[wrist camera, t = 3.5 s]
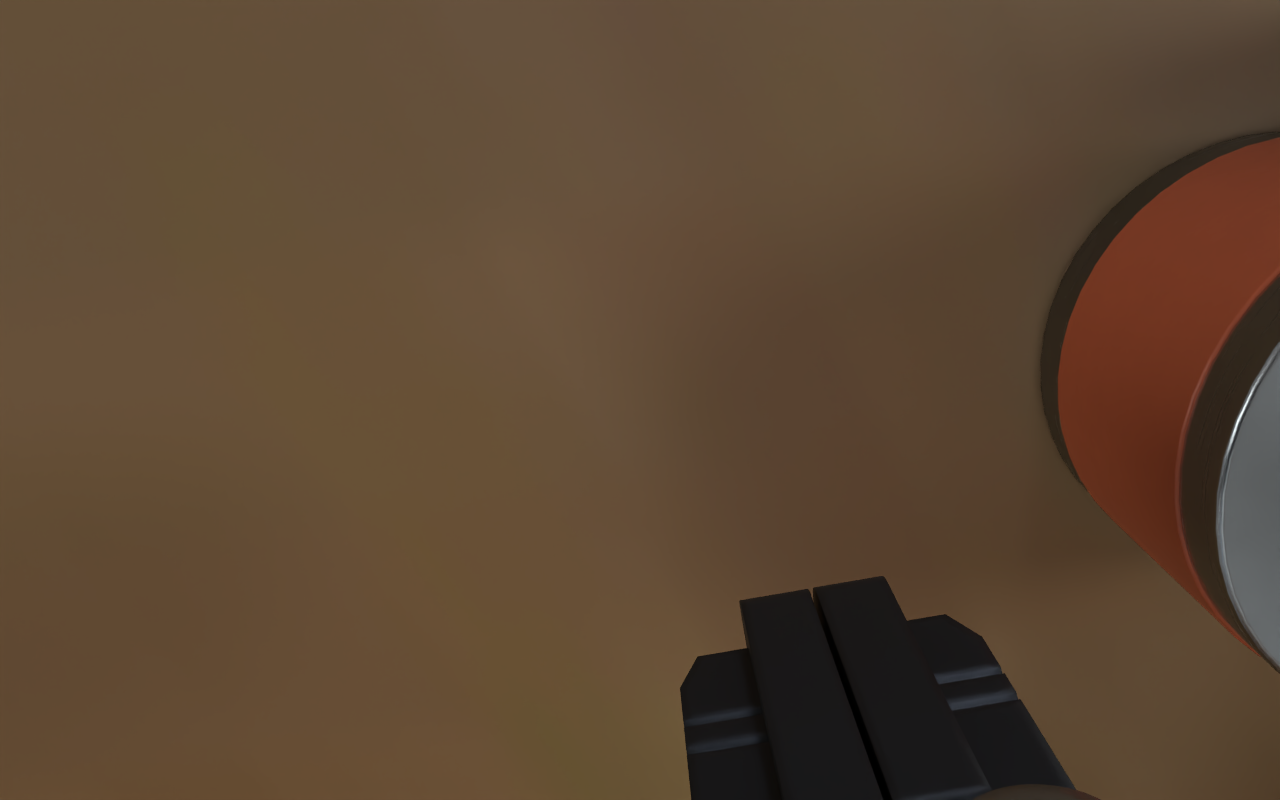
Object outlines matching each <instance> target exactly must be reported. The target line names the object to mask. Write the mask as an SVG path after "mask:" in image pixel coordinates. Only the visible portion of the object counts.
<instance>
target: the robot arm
mask: <svg viewBox="0 0 1280 800" xmlns="http://www.w3.org/2000/svg"><path fill="white" fill-rule="evenodd" d="M813 601H814V603H813ZM739 602H740V609H741V616H742V622H743V628H744V634H745V640H746V645H747V648H745V649H740V650H734V651H728V652H722V653H716V654H710V655H704V656H698V657H697V659H696V660H695V662H694V664H693V666H692V668H691V669H690V671H689V673H688V675H687V677H686V678H685V680H684V682H683V684H682V686H681V687H680V692H681V702H682V712H683V721H684V731H685V741H686V750H687V761H688V771H689V781H690V790H691V800H1100V799H1098V798H1096V797H1094V796H1091V795H1089V794H1086V793H1084V792H1081V791H1077V790H1076V789H1075V787H1074V785H1073V784H1072V782H1071V781H1070V779H1069V777H1068V776H1067V774H1066V772H1065V771H1064V769H1063V768H1062V766H1061V764H1060V763H1059V761H1058V759H1057V758H1056V756H1055V755H1054V753H1053V751H1052V750H1051V748H1050V746H1049V745H1048V743H1047V742H1046V740H1045V738H1044V737H1043V735H1042V733H1041V732H1040V730H1039V729H1038V727H1037V725H1036V724H1035V722H1034V720H1033V719H1032V717H1031V716H1030V714H1029V712H1028V711H1027V709H1026V707H1025V706H1024V704H1023V703H1022V701H1021V699H1019V700H1018V698H1017V693H1016V691H1015V690H1014V688H1013V686H1012V685H1011V683H1010V681H1009V680H1008V678H1007V677H1006V675H1005V673H1004V674H1002V671H1001V667H1000V665H999V664H998V662H997V660H996V659H995V657H994V655H993V654H992V652H991V651H990V649H989V647H988V646H987V644H986V642H985V641H984V639H983V638H982V636H980V635H978V634H977V633H975V632H973V631H972V630H970V629H969V628H967V627H965V626H964V625H962V624H960V623H959V622H957V621H956V620H954V619H952V618H951V617H949V616H947V615H946V614H944V615H938V616H932V617H926V618H921V619H915V620H909V621H907V620H906V618H905V616H904V614H903V612H902V610H901V608H900V606H899V604H898V602H897V600H896V598H895V596H894V594H893V592H892V590H891V588H890V586H889V584H888V582H887V581H886V579H885V578H884V576H879V577H873V578H867V579H861V580H855V581H850V582H844V583H838V584H832V585H826V586H820V587H815V588H813V600H812V597H811V594H810V592H809V590H808V589H804V590H798V591H793V592H787V593H781V594H775V595H769V596H763V597H758V598H752V599H746V600H740V601H739Z"/></svg>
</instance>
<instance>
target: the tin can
mask: <svg viewBox="0 0 1280 800" xmlns="http://www.w3.org/2000/svg"><path fill="white" fill-rule="evenodd" d="M1041 392H1042V399H1043V405H1044V412H1045V416H1046V419H1047V422H1048V426H1049V429H1050V432H1051V435H1052V438H1053V440H1054V442H1055V444H1056V446H1057V449H1058V451H1059V453H1060V455H1061V457H1062V459H1063V460H1064V462H1065V463H1066V465H1067V466H1068V468H1069V469H1070V471H1071V472H1072V474H1073V475H1074V477H1075V478H1076V479H1077V480H1078V481H1079V483H1080V484H1081V485H1082V486H1083V487H1084V488H1085V489H1086V490H1087V491H1088V492H1089V493H1090V495H1091V496H1092V498H1093V499H1094V501H1095V502H1096V503H1097V504H1098V505H1099V506H1100V507H1101V508H1102V509H1103V510H1104V511H1105V512H1106V514H1107V515H1108V516H1109V517H1110V518H1111V519H1112V520H1113V521H1114V522H1115V523H1116V524H1117V525H1118V526H1119V527H1120V528H1121V529H1123V530H1124V531H1125V532H1126V533H1127V534H1128V535H1129V536H1130V537H1131V538H1132V539H1133V540H1134V541H1135V542H1136V543H1137V544H1138V545H1139V546H1140V547H1141V548H1142V549H1143V550H1144V551H1145V552H1147V553H1148V554H1149V555H1150V556H1151V557H1152V558H1153V559H1154V560H1155V561H1156V562H1157V563H1158V564H1159V565H1160V566H1161V567H1162V568H1163V569H1164V570H1165V571H1166V572H1167V573H1168V574H1169V575H1171V576H1172V577H1173V578H1174V579H1175V580H1176V581H1177V582H1178V583H1179V584H1180V585H1181V586H1182V587H1183V588H1184V589H1185V590H1186V591H1187V592H1188V593H1189V594H1190V595H1191V596H1192V597H1193V598H1194V599H1196V600H1197V601H1198V602H1199V603H1200V604H1201V605H1202V606H1203V607H1204V608H1205V609H1206V610H1207V611H1208V612H1209V613H1210V614H1211V615H1212V616H1213V617H1214V618H1215V619H1216V620H1217V621H1218V622H1220V623H1221V624H1222V625H1223V626H1224V627H1225V628H1226V629H1227V630H1228V631H1229V632H1230V633H1231V634H1232V635H1233V636H1234V637H1235V638H1237V639H1238V640H1239V641H1240V642H1242V643H1243V644H1244V645H1245V646H1247V647H1248V648H1249V649H1251V650H1252V651H1253V652H1254V653H1256V654H1257V655H1258V656H1260V657H1262V658H1263V659H1264V660H1265V661H1266V662H1267V663H1268V664H1269V665H1270V666H1271V667H1273V668H1274V669H1275V670H1276V671H1277V672H1278V673H1280V132H1272V133H1264V134H1256V135H1248V136H1243V137H1240V138H1236V139H1232V140H1228V141H1224V142H1220V143H1217V144H1214V145H1212V146H1209V147H1207V148H1204V149H1202V150H1199V151H1197V152H1194V153H1192V154H1189V155H1187V156H1185V157H1183V158H1182V159H1180V160H1178V161H1176V162H1174V163H1172V164H1171V165H1169V166H1167V167H1165V168H1163V169H1161V170H1160V171H1159V172H1157V173H1156V174H1154V175H1153V176H1151V177H1150V178H1149V179H1147V180H1146V181H1144V182H1143V183H1141V184H1140V185H1139V186H1137V187H1136V188H1135V189H1134V190H1132V191H1131V192H1130V193H1129V194H1128V195H1127V196H1126V197H1125V198H1123V199H1122V200H1121V201H1120V202H1119V203H1118V204H1117V205H1116V206H1114V207H1113V208H1112V209H1111V210H1110V212H1109V213H1108V214H1107V215H1106V216H1105V217H1104V218H1103V219H1102V221H1101V222H1100V223H1099V224H1098V225H1097V226H1096V227H1095V228H1094V229H1093V231H1092V232H1091V233H1090V235H1089V236H1088V238H1087V239H1086V241H1085V242H1084V243H1083V245H1082V246H1081V248H1080V249H1079V250H1078V252H1077V253H1076V255H1075V256H1074V258H1073V260H1072V262H1071V264H1070V266H1069V267H1068V269H1067V271H1066V273H1065V275H1064V277H1063V279H1062V280H1061V283H1060V285H1059V288H1058V290H1057V293H1056V295H1055V298H1054V300H1053V303H1052V306H1051V309H1050V312H1049V316H1048V320H1047V324H1046V328H1045V332H1044V338H1043V346H1042V354H1041Z"/></svg>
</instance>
